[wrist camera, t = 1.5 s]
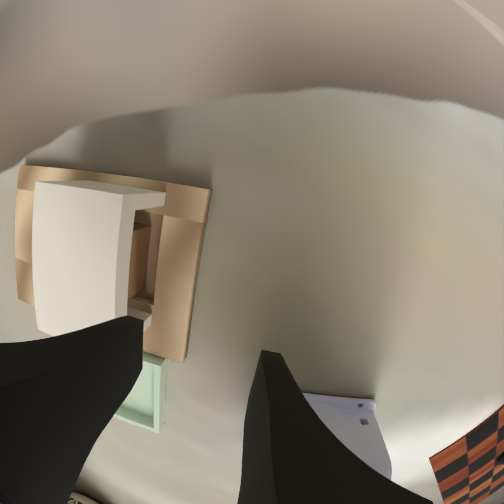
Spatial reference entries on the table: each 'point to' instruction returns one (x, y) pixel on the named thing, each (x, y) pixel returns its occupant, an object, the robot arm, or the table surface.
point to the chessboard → (472, 463)
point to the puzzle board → (159, 258)
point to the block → (138, 258)
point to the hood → (84, 252)
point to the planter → (80, 499)
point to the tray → (147, 396)
